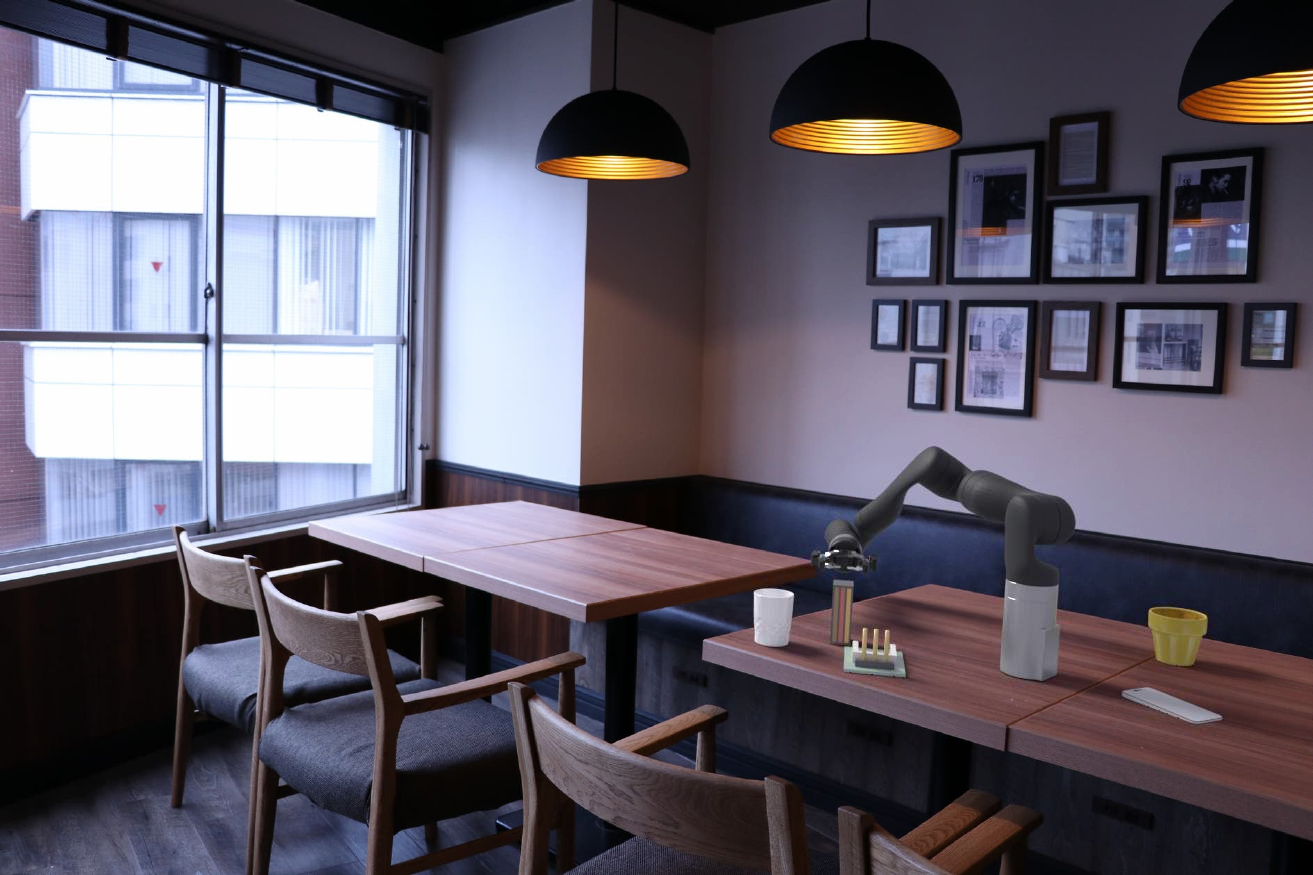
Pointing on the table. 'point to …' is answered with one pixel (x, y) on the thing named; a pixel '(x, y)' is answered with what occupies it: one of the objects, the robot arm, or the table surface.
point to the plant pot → (1176, 634)
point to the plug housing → (841, 612)
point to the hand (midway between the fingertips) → (843, 567)
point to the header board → (874, 658)
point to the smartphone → (1171, 705)
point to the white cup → (772, 616)
